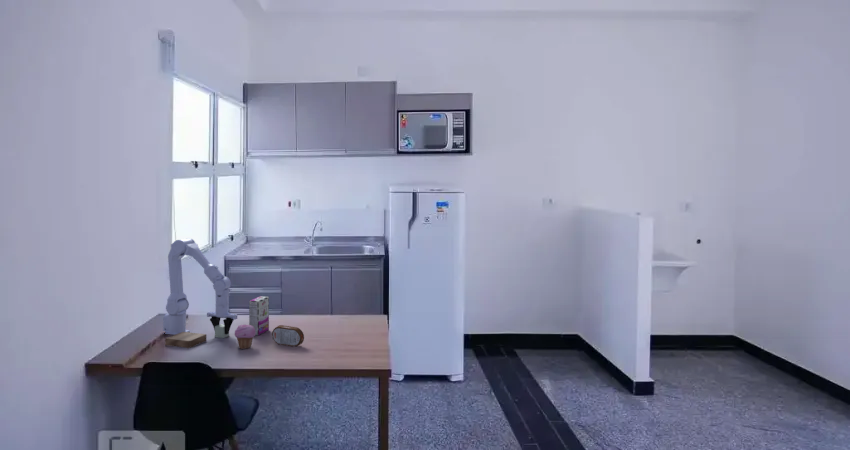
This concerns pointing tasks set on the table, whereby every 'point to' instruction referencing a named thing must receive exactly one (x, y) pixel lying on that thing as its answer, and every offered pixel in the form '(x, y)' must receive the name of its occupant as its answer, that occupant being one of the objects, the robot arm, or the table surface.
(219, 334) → the sage block
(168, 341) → the brown flat block
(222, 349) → the table surface
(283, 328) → the tin
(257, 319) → the candy bar box
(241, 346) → the cupcake
